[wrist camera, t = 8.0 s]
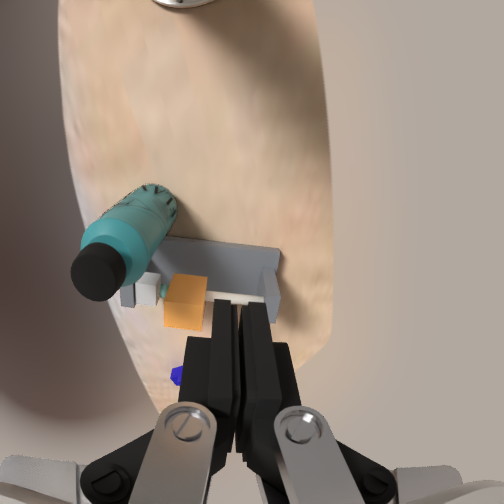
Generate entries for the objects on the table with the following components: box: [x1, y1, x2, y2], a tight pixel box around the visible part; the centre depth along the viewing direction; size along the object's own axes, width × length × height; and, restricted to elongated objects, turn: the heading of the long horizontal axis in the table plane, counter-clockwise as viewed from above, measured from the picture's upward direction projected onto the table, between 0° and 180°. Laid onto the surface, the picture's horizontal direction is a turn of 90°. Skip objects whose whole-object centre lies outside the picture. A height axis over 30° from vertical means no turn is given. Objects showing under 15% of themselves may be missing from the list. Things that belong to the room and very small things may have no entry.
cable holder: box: [170, 366, 183, 386], centre depth 49 cm, size 8×4×4 cm, turn 23°
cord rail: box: [120, 236, 281, 323], centre depth 38 cm, size 8×19×9 cm, turn 82°
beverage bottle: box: [71, 183, 178, 302], centre depth 29 cm, size 6×7×20 cm
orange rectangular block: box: [164, 273, 208, 331], centre depth 34 cm, size 3×4×6 cm
